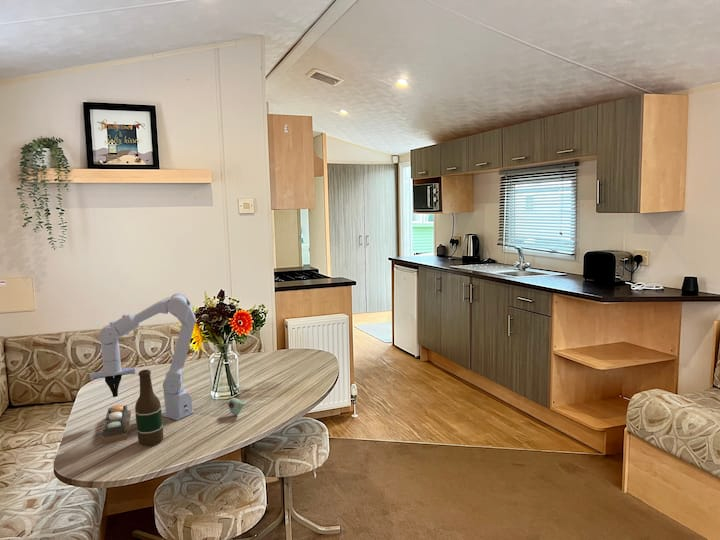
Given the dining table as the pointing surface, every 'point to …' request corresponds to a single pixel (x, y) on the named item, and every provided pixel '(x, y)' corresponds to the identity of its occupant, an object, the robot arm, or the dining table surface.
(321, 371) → the dining table surface
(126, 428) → the button panel
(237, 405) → the robot head
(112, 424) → the sage button
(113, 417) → the cream button
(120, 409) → the terracotta button
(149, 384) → the beer bottle
